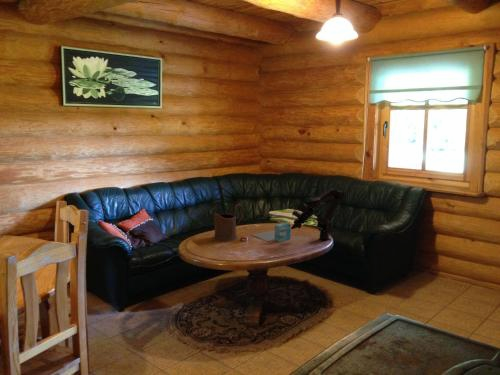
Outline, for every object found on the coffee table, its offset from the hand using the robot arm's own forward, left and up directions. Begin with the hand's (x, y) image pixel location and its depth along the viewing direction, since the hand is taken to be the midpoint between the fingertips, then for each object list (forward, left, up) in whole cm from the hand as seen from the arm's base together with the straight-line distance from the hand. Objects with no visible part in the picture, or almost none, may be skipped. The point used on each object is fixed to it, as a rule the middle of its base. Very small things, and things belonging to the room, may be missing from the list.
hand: (291, 228), depth 317 cm
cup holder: (+32, -34, -10) cm, 48 cm away
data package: (+3, -6, -10) cm, 12 cm away
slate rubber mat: (+3, -20, -10) cm, 22 cm away
